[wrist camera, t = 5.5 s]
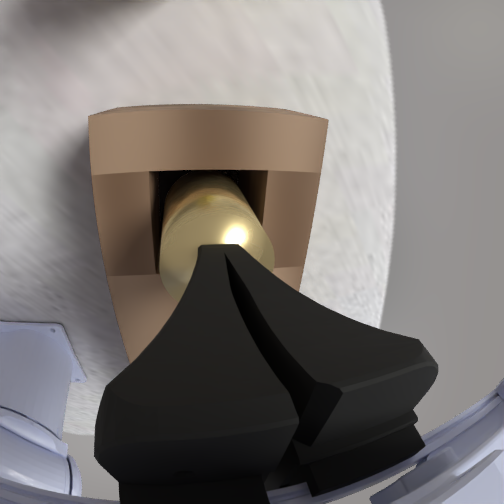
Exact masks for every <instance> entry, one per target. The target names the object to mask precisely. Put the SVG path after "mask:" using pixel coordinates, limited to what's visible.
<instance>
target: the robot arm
mask: <svg viewBox="0 0 504 504" xmlns="http://www.w3.org/2000/svg"><path fill="white" fill-rule="evenodd" d="M52 328H53V329H52ZM437 374H438V364H437V363H436V362H435V360H434V359H433V357H432V356H431V355H430V353H429V352H428V351H427V350H426V348H425V347H424V346H423V344H422V343H421V342H420V341H419V339H415V338H411V337H407V336H403V335H399V334H395V333H391V332H387V331H384V330H380V329H378V328H375V327H372V326H369V325H366V324H363V323H360V322H358V321H355V320H353V319H350V318H348V317H346V316H343V315H341V314H339V313H337V312H335V311H333V310H330V309H328V308H326V307H324V306H322V305H320V304H319V303H317V302H315V301H313V300H312V299H310V298H308V297H306V296H305V295H303V294H301V293H300V292H298V291H297V290H295V289H294V288H292V287H291V286H289V285H288V284H286V283H285V282H284V281H282V280H281V279H279V278H278V277H277V276H275V275H274V274H273V273H272V272H270V271H269V270H268V269H267V268H265V267H264V266H263V265H262V264H261V263H259V262H258V261H257V260H256V259H255V258H254V257H253V256H251V255H250V254H249V253H248V252H247V251H246V250H245V249H244V248H242V247H241V246H240V245H239V244H238V243H235V244H210V245H200V246H199V247H198V257H197V261H196V265H195V268H194V270H193V273H192V276H191V279H190V281H189V283H188V285H187V287H186V289H185V291H184V294H183V296H182V298H181V299H180V301H179V303H178V305H177V306H176V308H175V310H174V311H173V313H172V314H171V316H170V317H169V319H168V320H167V322H166V323H165V324H164V326H163V327H162V329H161V330H160V331H159V333H158V334H157V335H156V336H155V338H154V339H153V340H152V341H151V342H150V343H149V344H148V346H147V347H146V348H145V349H144V350H143V351H142V352H141V353H140V355H139V356H138V357H137V358H136V359H135V360H134V361H133V362H132V363H131V364H130V365H129V366H128V367H127V368H125V369H124V370H123V371H122V372H121V373H120V374H119V375H118V376H117V377H116V378H114V379H113V380H112V381H111V382H110V383H109V384H108V385H106V387H105V390H104V393H103V396H102V399H101V402H100V406H99V410H98V414H97V419H96V424H95V442H94V457H95V458H96V460H97V461H98V463H99V464H100V465H101V466H102V467H103V468H104V469H105V470H107V472H109V473H110V475H112V476H113V477H114V478H115V479H116V480H117V481H118V482H119V497H120V501H113V500H102V499H93V498H87V497H81V492H82V480H81V474H80V471H79V468H78V466H77V464H76V462H75V460H74V458H73V457H72V456H70V455H68V454H67V451H68V445H67V444H66V443H64V442H62V441H61V440H62V431H63V423H64V416H65V409H66V403H67V397H68V391H69V385H70V382H80V383H84V382H86V380H87V378H86V376H85V374H84V372H83V370H82V368H81V366H80V364H79V362H78V359H77V357H76V355H75V353H74V351H73V349H72V346H71V344H70V342H69V340H68V337H67V335H66V333H65V330H64V328H63V326H62V325H60V324H54V323H22V322H3V321H0V504H326V503H329V502H332V501H335V500H337V499H340V498H343V497H346V496H348V495H351V494H353V493H356V492H359V491H361V490H364V489H366V488H368V487H371V486H373V485H375V484H377V483H379V482H382V481H384V480H386V479H388V478H390V477H392V476H394V475H396V474H398V473H400V472H402V471H404V470H406V469H408V468H410V467H412V466H414V465H415V464H417V463H418V464H417V465H416V468H415V469H414V470H411V471H410V472H408V473H406V474H405V475H403V476H401V477H400V478H399V479H398V480H397V481H395V482H394V483H392V484H391V485H389V486H388V487H386V488H385V489H383V490H381V491H379V492H377V493H376V494H374V495H373V496H371V497H370V501H371V503H372V504H504V378H503V379H502V380H501V382H500V383H499V384H498V385H497V386H496V389H495V390H493V391H492V392H491V393H489V394H488V395H487V396H485V397H484V398H482V399H481V400H479V401H478V402H477V403H475V404H474V405H473V406H471V407H469V408H468V409H466V410H465V411H463V412H462V413H460V414H459V415H457V416H455V417H454V418H452V419H451V420H449V421H447V422H446V423H444V424H442V425H441V426H439V427H437V428H435V429H434V430H432V431H430V432H428V433H426V434H425V435H423V436H420V435H419V433H418V431H417V430H416V428H415V426H414V424H415V423H416V422H417V421H418V417H417V415H416V414H415V412H414V411H413V409H414V407H415V406H416V405H417V404H418V403H419V401H420V400H421V399H422V397H423V396H424V395H425V394H426V393H427V392H428V390H429V389H430V387H431V386H432V385H433V383H434V381H435V379H436V377H437Z"/></svg>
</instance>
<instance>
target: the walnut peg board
mask: <svg viewBox="0 0 504 504" xmlns="http://www.w3.org/2000/svg"><path fill="white" fill-rule="evenodd" d="M88 123H89V149H90V165H91V177H92V187H93V196H94V205H95V212H96V220H97V227H98V233H99V239H100V245H101V251H102V256H103V261H104V266H105V271H106V276H107V281H108V285H109V290H110V294H111V298H112V302H113V306H114V310H115V314H116V318H117V322H118V325H119V329H120V333H121V336H122V340H123V343H124V346H125V350H126V353H127V356H128V359H129V362H130V364H131V363H132V362H133V361H134V360H135V359H136V358H137V357H138V356H139V355H140V353H141V352H142V351H143V350H144V349H145V348H146V347H147V346H148V344H149V343H150V342H151V341H152V340H153V339H154V338H155V336H156V335H157V334H158V333H159V331H160V330H161V329H162V327H163V326H164V324H165V323H166V322H167V320H168V319H169V317H170V316H171V314H172V313H173V311H174V310H175V308H176V306H177V305H178V303H179V302H178V301H176V300H175V299H174V298H173V297H172V296H171V295H170V294H169V293H168V291H167V290H166V289H165V287H164V285H163V283H162V280H161V276H160V270H159V263H160V248H161V236H162V224H163V222H161V220H160V197H159V171H166V170H239V183H238V187H239V189H240V190H241V192H242V194H243V195H244V197H245V199H246V200H247V202H248V204H249V205H250V207H251V209H252V210H253V212H254V214H255V215H256V217H257V219H258V221H259V222H260V224H261V226H262V227H263V229H264V231H265V232H266V234H267V236H268V238H269V239H270V241H271V244H272V246H273V250H274V257H275V261H274V269H273V272H272V273H273V274H274V275H275V276H277V277H278V278H279V279H281V280H282V281H284V282H285V283H286V284H288V285H289V286H291V287H292V288H294V289H295V290H297V291H298V292H299V289H300V284H301V279H302V274H303V269H304V264H305V259H306V254H307V249H308V244H309V239H310V233H311V228H312V222H313V217H314V211H315V205H316V200H317V194H318V188H319V181H320V175H321V169H322V162H323V156H324V149H325V142H326V135H327V128H328V119H324V118H320V117H316V116H312V115H308V114H304V113H299V112H295V111H291V110H286V109H278V108H267V107H254V106H238V105H212V104H173V105H147V106H132V107H119V108H115V109H111V110H107V111H104V112H100V113H97V114H93V115H90V116H88Z"/></svg>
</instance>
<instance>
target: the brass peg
mask: <svg viewBox="0 0 504 504" xmlns="http://www.w3.org/2000/svg"><path fill="white" fill-rule="evenodd" d="M235 243H238V244H239V245H240V246H241V247H242V248H244V249H245V250H246V251H247V252H248V253H249V254H250V255H251V256H253V257H254V258H255V259H256V260H257V261H258V262H259V263H261V264H262V265H263V266H264V267H265V268H267V269H268V270H269V271H270V272H273V269H274V261H275V257H274V250H273V246H272V244H271V241H270V239H269V238H268V236H267V234H266V232H265V231H264V229H263V227H262V226H261V224H260V222H259V221H258V219H257V217H256V215H255V214H254V212H253V210H252V209H251V207H250V205H249V204H248V202H247V200H246V199H245V197H244V195H243V194H242V192H241V190H240V189H239V187H238V185H237V184H236V183H235V182H234V180H232V179H231V178H230V177H229V176H227V175H226V174H224V173H222V172H219V171H216V170H195V171H192V172H189V173H187V174H185V175H183V176H182V177H180V178H179V179H178V180H177V181H176V182H175V183H174V184H173V185H172V186H171V188H170V189H169V191H168V193H167V196H166V199H165V205H164V214H163V224H162V236H161V248H160V263H159V270H160V276H161V280H162V283H163V285H164V287H165V289H166V290H167V291H168V293H169V294H170V295H171V296H172V297H173V298H174V299H175V300H176V301H178V302H179V301H180V299H181V298H182V296H183V294H184V291H185V289H186V287H187V285H188V283H189V281H190V279H191V276H192V273H193V270H194V268H195V265H196V261H197V257H198V247H199V246H200V245H210V244H235Z"/></svg>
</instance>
